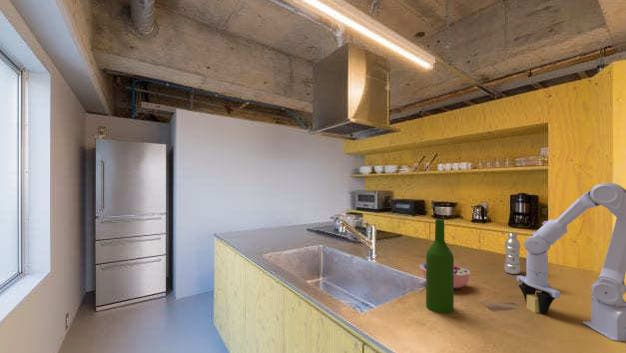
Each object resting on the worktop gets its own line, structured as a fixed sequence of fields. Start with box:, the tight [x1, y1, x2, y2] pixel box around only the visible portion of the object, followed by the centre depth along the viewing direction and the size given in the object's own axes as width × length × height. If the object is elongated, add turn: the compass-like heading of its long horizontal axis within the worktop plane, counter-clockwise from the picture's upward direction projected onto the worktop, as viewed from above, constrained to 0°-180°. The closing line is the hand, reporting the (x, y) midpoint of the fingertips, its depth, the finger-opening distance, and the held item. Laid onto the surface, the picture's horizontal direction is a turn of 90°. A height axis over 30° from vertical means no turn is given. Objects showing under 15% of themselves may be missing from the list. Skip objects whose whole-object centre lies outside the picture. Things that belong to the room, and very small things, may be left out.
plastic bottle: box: [503, 231, 522, 275], centre depth 134 cm, size 6×7×20 cm
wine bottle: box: [425, 218, 455, 315], centre depth 97 cm, size 9×9×32 cm
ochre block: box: [526, 293, 541, 314], centre depth 94 cm, size 4×4×6 cm
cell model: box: [419, 262, 471, 289], centre depth 117 cm, size 17×20×11 cm
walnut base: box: [480, 301, 522, 313], centre depth 95 cm, size 12×12×1 cm
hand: (536, 309), depth 94 cm, fingers closed on ochre block, 4 cm apart
